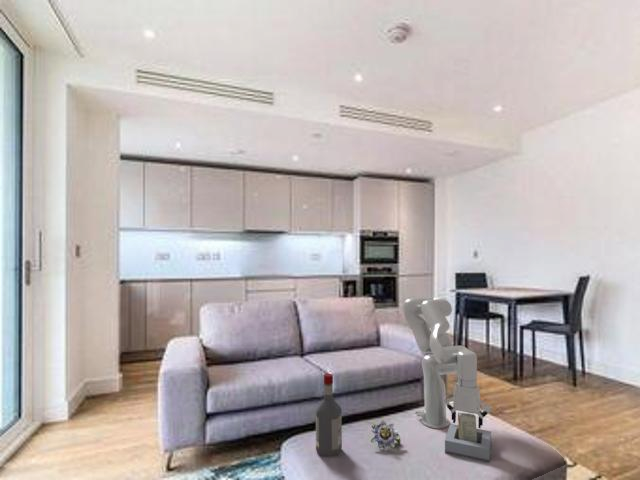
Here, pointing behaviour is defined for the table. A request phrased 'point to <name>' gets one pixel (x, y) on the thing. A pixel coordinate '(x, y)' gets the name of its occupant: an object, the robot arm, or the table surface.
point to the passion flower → (385, 435)
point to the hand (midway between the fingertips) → (466, 424)
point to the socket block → (468, 444)
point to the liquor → (328, 422)
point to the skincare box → (467, 427)
